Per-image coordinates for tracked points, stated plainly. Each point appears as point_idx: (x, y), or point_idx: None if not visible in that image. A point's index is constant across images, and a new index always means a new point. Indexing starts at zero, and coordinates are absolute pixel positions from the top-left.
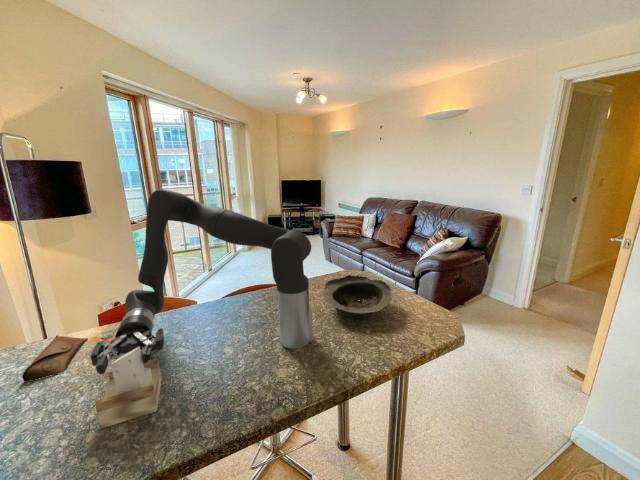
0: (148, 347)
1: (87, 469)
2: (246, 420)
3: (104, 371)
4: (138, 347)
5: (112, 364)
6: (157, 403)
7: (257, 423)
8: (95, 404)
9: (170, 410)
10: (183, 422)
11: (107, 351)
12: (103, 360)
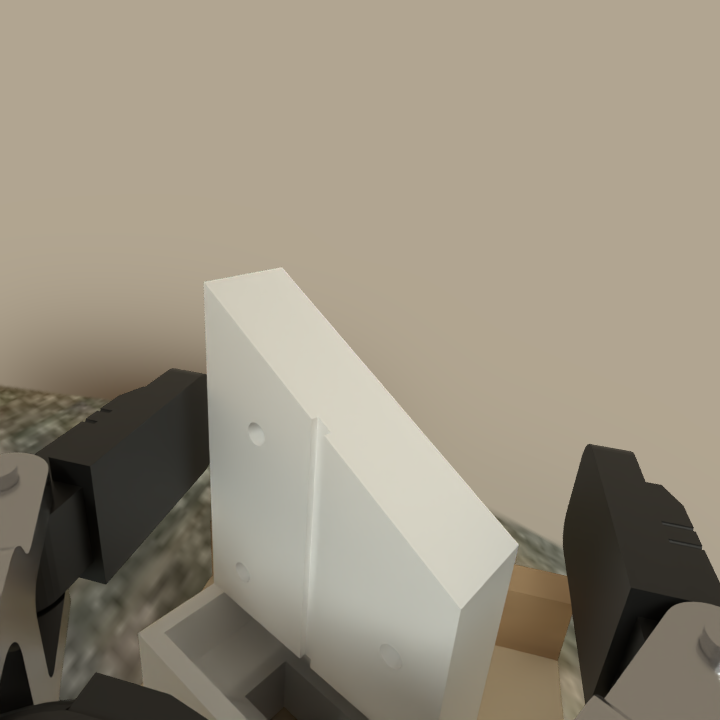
0: (58, 472)
1: (518, 537)
2: (32, 411)
3: (567, 548)
4: (222, 280)
5: (497, 532)
6: None
7: (26, 392)
8: (567, 580)
9: (175, 601)
10: (175, 510)
11: (668, 684)
12: (609, 490)
